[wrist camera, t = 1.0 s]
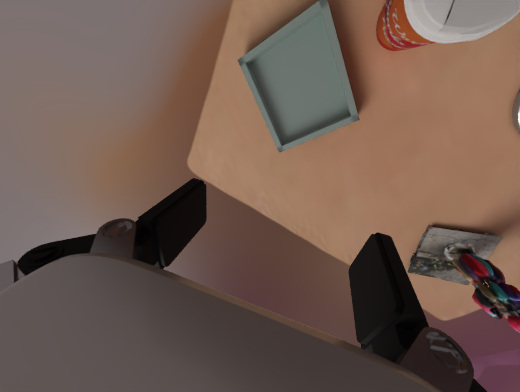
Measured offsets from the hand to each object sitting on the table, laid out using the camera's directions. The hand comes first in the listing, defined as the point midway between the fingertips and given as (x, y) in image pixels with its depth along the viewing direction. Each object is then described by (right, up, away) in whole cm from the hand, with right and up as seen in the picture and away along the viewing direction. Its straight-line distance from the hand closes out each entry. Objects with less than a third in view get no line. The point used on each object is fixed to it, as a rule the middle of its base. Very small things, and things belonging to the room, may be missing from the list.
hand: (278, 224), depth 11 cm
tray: (+5, +17, +17) cm, 25 cm away
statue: (+33, -8, +24) cm, 41 cm away
